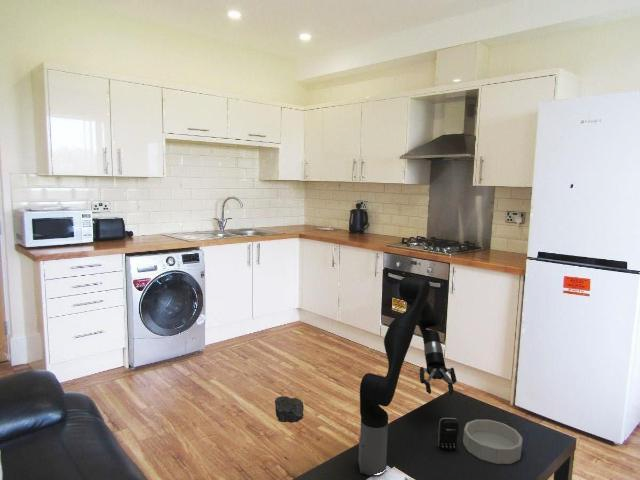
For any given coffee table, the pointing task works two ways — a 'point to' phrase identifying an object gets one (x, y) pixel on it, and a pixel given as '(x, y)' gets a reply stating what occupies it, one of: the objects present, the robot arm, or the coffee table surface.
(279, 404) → the rock
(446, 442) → the battery charger
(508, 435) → the bowl
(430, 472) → the coffee table surface
